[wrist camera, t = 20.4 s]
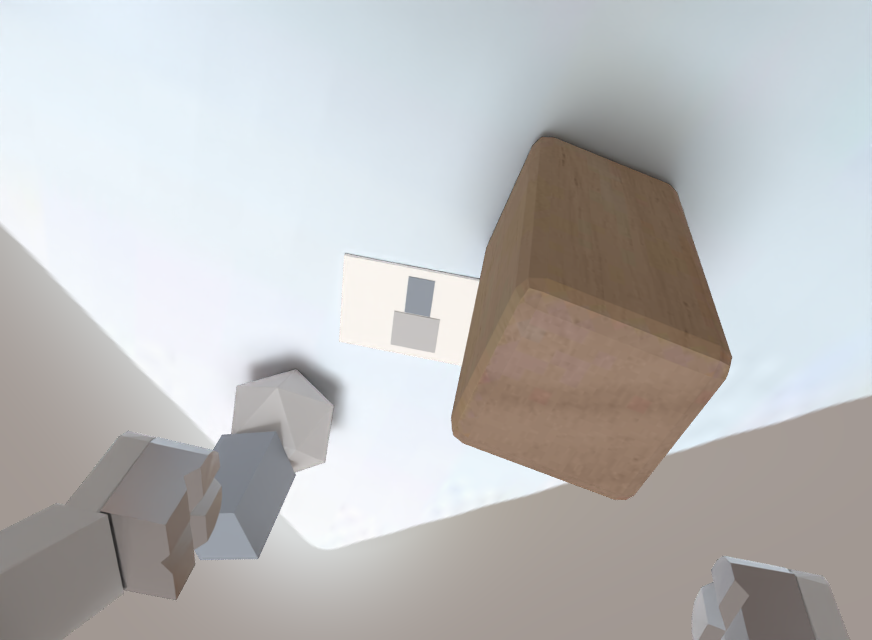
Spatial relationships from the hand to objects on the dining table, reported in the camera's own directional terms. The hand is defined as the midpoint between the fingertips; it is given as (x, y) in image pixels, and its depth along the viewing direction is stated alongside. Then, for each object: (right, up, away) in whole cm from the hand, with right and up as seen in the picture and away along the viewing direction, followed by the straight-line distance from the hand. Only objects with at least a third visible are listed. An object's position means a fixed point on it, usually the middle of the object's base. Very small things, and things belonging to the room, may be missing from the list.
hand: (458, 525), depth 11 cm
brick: (-14, -7, +43) cm, 46 cm away
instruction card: (-2, +4, +43) cm, 43 cm away
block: (+9, +10, +37) cm, 39 cm away
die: (-13, -3, +50) cm, 51 cm away
